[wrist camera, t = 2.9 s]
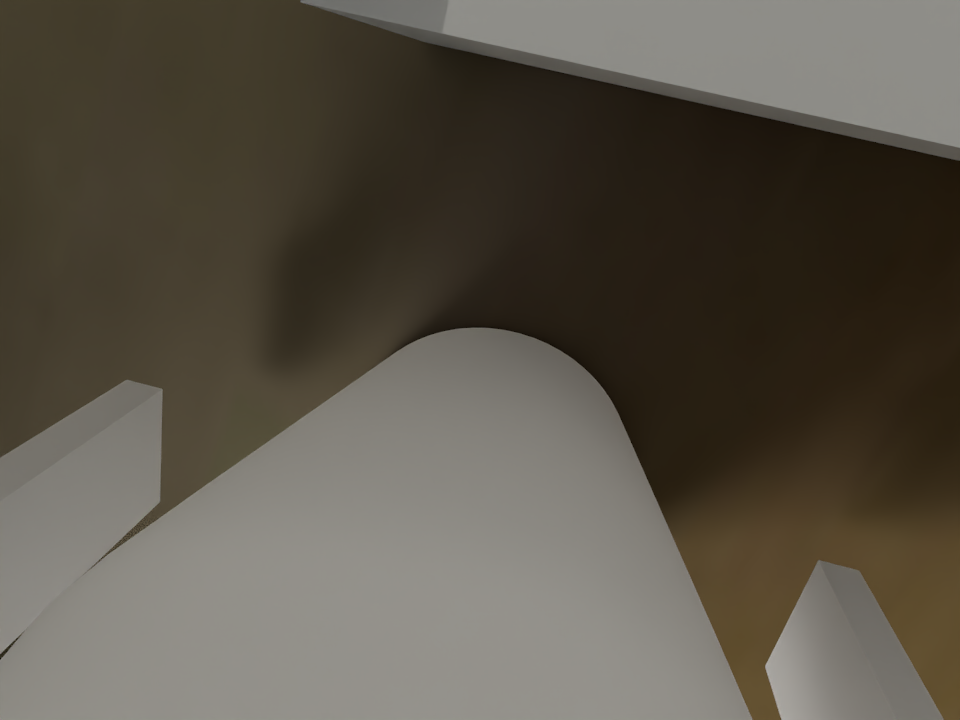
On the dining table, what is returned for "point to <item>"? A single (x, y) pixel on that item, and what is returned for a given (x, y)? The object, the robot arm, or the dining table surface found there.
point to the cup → (399, 568)
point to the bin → (726, 54)
